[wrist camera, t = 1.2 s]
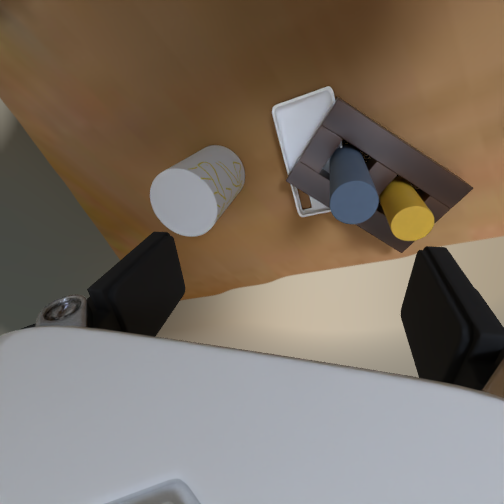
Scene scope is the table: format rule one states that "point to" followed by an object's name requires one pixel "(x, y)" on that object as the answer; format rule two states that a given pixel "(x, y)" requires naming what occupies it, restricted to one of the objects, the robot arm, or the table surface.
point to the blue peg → (351, 186)
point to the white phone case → (302, 134)
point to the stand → (375, 167)
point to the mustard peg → (405, 211)
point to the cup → (197, 190)
